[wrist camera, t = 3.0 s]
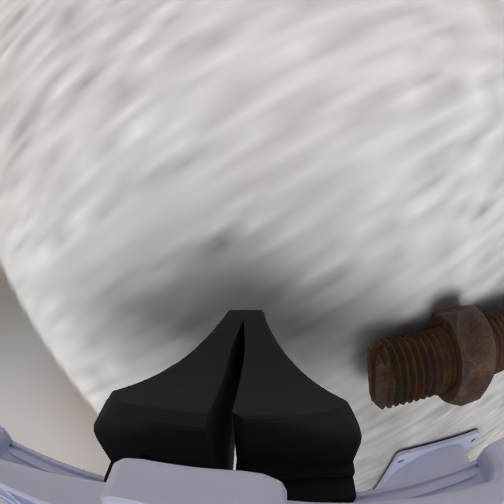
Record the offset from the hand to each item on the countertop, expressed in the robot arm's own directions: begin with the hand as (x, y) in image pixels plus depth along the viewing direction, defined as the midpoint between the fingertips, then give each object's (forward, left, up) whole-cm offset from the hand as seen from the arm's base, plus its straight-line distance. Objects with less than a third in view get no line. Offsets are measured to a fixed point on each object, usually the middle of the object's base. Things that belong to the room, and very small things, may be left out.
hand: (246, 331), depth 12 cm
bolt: (-1, -13, -2) cm, 13 cm away
